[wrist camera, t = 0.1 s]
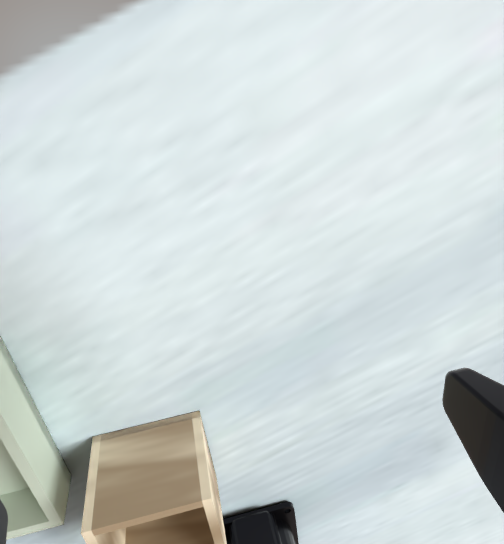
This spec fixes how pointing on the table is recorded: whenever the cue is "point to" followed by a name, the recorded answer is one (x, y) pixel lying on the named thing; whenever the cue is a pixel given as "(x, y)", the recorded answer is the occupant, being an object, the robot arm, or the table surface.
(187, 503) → the small crate
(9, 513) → the pale green square tray
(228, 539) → the robot arm
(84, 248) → the table surface
